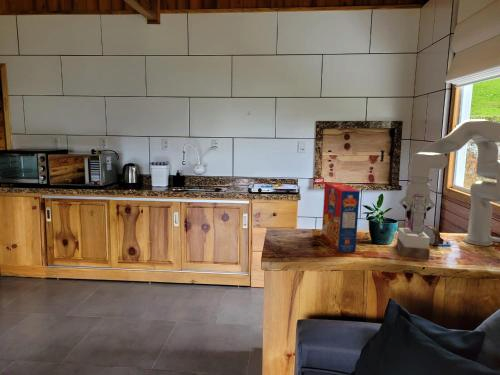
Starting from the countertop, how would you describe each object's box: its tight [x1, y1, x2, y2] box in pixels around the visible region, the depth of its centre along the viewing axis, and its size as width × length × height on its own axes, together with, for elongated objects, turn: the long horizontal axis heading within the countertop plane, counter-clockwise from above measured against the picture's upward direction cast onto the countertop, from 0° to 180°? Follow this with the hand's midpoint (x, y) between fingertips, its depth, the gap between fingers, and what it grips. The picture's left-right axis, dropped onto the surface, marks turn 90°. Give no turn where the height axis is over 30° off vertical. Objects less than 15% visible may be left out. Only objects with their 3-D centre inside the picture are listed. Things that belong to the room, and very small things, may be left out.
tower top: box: [397, 227, 430, 250], centre depth 173 cm, size 10×16×5 cm, turn 169°
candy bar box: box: [406, 195, 426, 233], centre depth 171 cm, size 11×5×16 cm, turn 168°
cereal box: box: [321, 182, 360, 253], centre depth 182 cm, size 28×8×28 cm, turn 4°
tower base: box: [396, 236, 431, 260], centre depth 173 cm, size 12×18×4 cm, turn 162°
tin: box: [423, 224, 441, 246], centre depth 188 cm, size 15×3×8 cm, turn 178°
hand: (415, 219), depth 171 cm, fingers closed on candy bar box, 5 cm apart
